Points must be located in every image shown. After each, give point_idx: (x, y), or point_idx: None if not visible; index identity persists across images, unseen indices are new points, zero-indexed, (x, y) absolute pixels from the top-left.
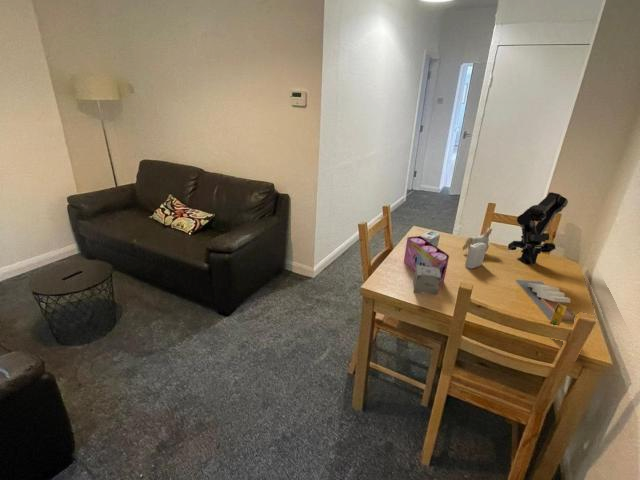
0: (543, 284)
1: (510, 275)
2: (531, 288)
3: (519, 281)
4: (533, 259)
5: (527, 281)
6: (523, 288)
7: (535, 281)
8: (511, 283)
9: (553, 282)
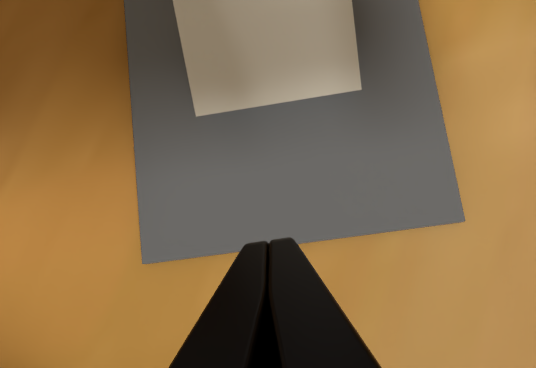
0: (188, 76)
1: (494, 350)
2: None
3: (421, 183)
4: (292, 311)
5: (319, 214)
6: (416, 27)
7: (219, 244)
8: (523, 126)
9: (9, 305)
